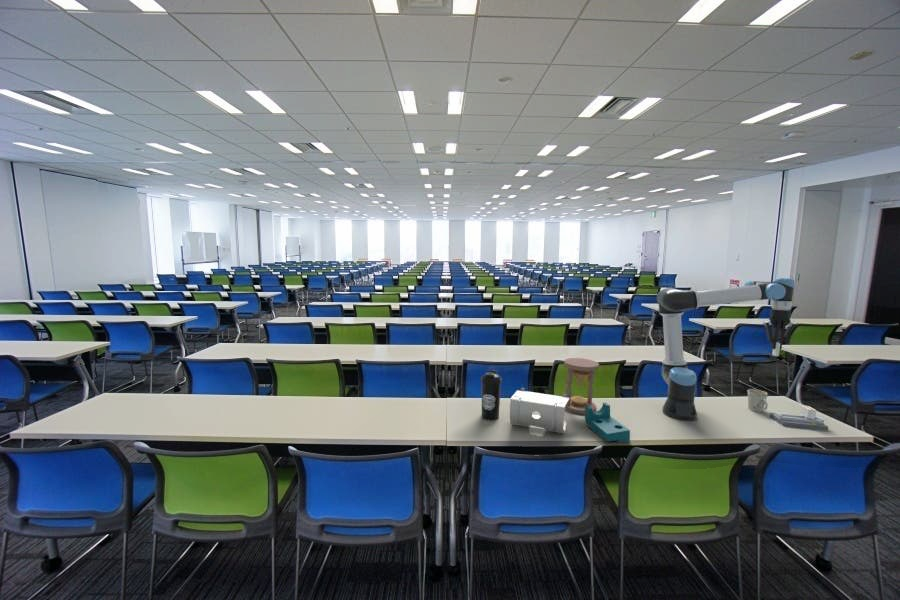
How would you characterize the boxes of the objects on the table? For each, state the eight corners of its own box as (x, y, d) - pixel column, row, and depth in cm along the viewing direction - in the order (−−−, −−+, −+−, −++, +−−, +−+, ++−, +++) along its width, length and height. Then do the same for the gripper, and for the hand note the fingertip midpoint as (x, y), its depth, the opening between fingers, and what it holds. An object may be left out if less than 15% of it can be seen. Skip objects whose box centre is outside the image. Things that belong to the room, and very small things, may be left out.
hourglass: (587, 401, 208) (590, 357, 206) (602, 414, 191) (605, 367, 188) (556, 401, 207) (559, 357, 205) (568, 414, 190) (571, 367, 187)
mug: (758, 407, 205) (760, 389, 204) (775, 416, 192) (777, 398, 191) (741, 406, 206) (743, 388, 204) (758, 415, 193) (760, 397, 192)
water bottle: (477, 419, 183) (478, 373, 180) (483, 411, 192) (484, 368, 190) (497, 422, 179) (499, 376, 177) (502, 414, 189) (504, 370, 186)
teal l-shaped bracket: (585, 426, 179) (584, 405, 177) (606, 422, 181) (605, 402, 179) (607, 444, 161) (606, 422, 160) (629, 441, 163) (629, 418, 162)
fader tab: (806, 421, 182) (808, 408, 181) (800, 417, 186) (801, 405, 186) (814, 422, 181) (816, 409, 180) (807, 417, 185) (809, 405, 185)
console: (782, 425, 182) (783, 417, 181) (769, 416, 192) (770, 409, 192) (827, 430, 177) (828, 422, 177) (811, 420, 188) (812, 413, 187)
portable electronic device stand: (506, 431, 170) (508, 399, 169) (516, 412, 192) (517, 383, 191) (565, 442, 161) (566, 408, 159) (568, 420, 183) (570, 390, 181)
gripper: (769, 309, 183) (764, 356, 186) (801, 310, 180) (795, 358, 183) (761, 307, 191) (756, 352, 193) (791, 308, 188) (786, 354, 190)
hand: (775, 355), depth 188 cm, fingers closed
